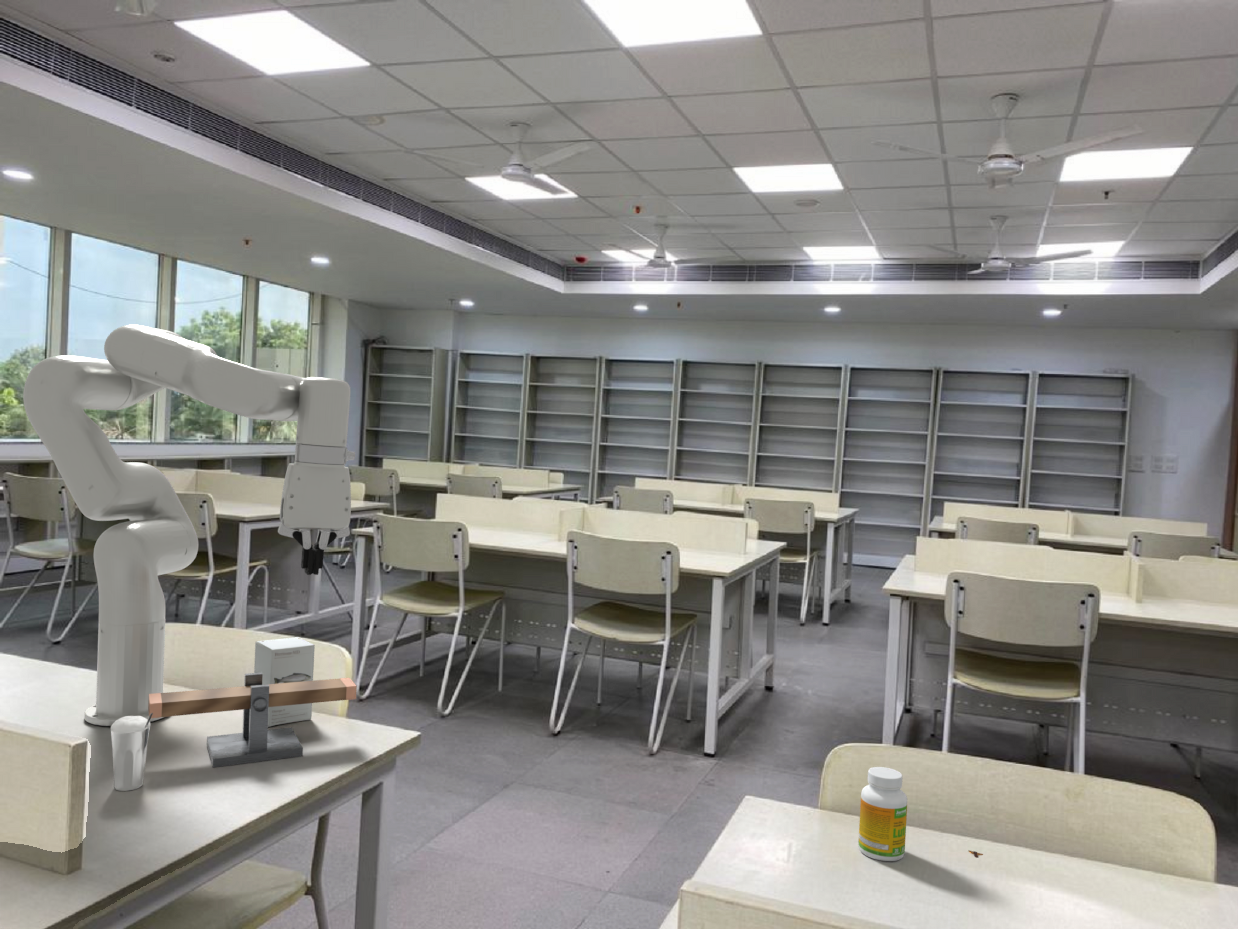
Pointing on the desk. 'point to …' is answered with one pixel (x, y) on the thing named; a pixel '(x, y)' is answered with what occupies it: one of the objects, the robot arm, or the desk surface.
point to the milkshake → (129, 751)
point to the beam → (241, 697)
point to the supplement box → (285, 673)
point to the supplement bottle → (883, 815)
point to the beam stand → (254, 733)
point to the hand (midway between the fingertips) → (311, 573)
